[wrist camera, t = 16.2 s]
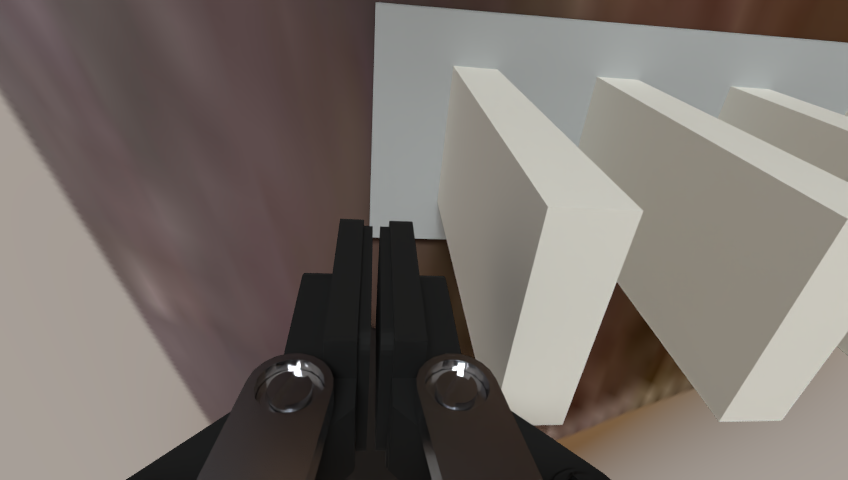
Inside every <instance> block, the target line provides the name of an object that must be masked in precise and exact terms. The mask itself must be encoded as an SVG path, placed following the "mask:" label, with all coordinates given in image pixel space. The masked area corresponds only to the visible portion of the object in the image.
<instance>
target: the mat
mask: <svg viewBox="0 0 848 480" xmlns="http://www.w3.org/2000/svg"><path fill="white" fill-rule="evenodd" d="M453 66H461V67H474V68H486V69H498V70H499V71H500V72H501V73H502V74H503V75H504V76H505V77H506V78H507V79H508V80H509V81H510V82H511V83H512V84H513V85H514V86H515V87H516V88H517V89H518V90H519V91H520V92H521V93H523V94H524V95H525V96H526V97H527V98H528V99H529V100H530V101H531V102H532V103H533V104H534V105H535V106H536V107H537V108H538V109H539V110H540V111H541V112H542V113H543V114H544V115H545V116H546V117H547V118H548V119H549V120H550V121H551V122H552V123H553V124H554V125H555V126H556V127H558V128H559V129H560V130H561V131H562V132H563V133H564V134H565V135H566V136H567V137H568V138H569V139H570V140H571V141H572V142H573V143H574V144H575V145H576V146H577V147H578V146H579V142H580V139H581V135H582V131H583V127H584V124H585V120H586V116H587V112H588V109H589V105H590V101H591V98H592V94H593V90H594V86H595V83H596V79H597V77H606V78H620V79H634V80H640V81H642V82H644V83H646V84H648V85H650V86H652V87H654V88H656V89H658V90H660V91H662V92H664V93H666V94H668V95H670V96H672V97H675V98H677V99H679V100H681V101H683V102H685V103H687V104H689V105H691V106H693V107H695V108H697V109H699V110H701V111H703V112H705V113H707V114H709V115H711V116H713V117H715V118H717V119H718V116H719V114H720V111H721V109H722V107H723V104H724V102H725V99H726V97H727V95H728V92H729V90H730V87H731V86H732V87H746V88H760V89H770V90H773V91H776V92H779V93H782V94H785V95H787V96H790V97H793V98H796V99H799V100H802V101H805V102H808V103H810V104H813V105H816V106H819V107H822V108H825V109H828V110H830V111H833V112H836V113H839V114H842V115H845V113H846V112H847V110H848V43H844V42H833V41H821V40H809V39H798V38H786V37H775V36H763V35H751V34H740V33H728V32H717V31H705V30H693V29H682V28H670V27H659V26H647V25H635V24H624V23H612V22H601V21H589V20H577V19H566V18H554V17H543V16H531V15H519V14H508V13H496V12H485V11H473V10H461V9H450V8H438V7H427V6H415V5H403V4H392V3H380V2H376V9H375V46H374V83H373V120H372V156H371V193H370V226H373V237H377V238H380V226H382V227H389V221H411V222H413V228H414V236H415V239H446V235H445V231H444V227H443V223H442V219H441V215H440V211H439V207H438V202H437V200H438V192H439V183H440V175H441V166H442V158H443V149H444V141H445V132H446V124H447V115H448V107H449V98H450V90H451V81H452V73H453Z"/></svg>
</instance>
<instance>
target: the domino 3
mask: <svg viewBox="0 0 848 480" xmlns="http://www.w3.org/2000/svg"><path fill="white" fill-rule="evenodd" d="M718 119H720V120H722V121H724V122H726V123H728V124H730V125H732V126H734V127H736V128H738V129H740V130H742V131H744V132H746V133H748V134H750V135H752V136H754V137H756V138H758V139H760V140H763V141H765V142H767V143H769V144H771V145H773V146H775V147H777V148H779V149H781V150H783V151H785V152H787V153H789V154H791V155H793V156H795V157H797V158H799V159H801V160H803V161H805V162H808V163H810V164H812V165H814V166H816V167H818V168H820V169H822V170H824V171H826V172H828V173H830V174H832V175H834V176H836V177H838V178H840V179H842V180H844V181H846V182H848V116H845V115H842V114H839V113H836V112H833V111H830V110H828V109H825V108H822V107H819V106H816V105H813V104H810V103H808V102H805V101H802V100H799V99H796V98H793V97H790V96H787V95H785V94H782V93H779V92H776V91H773V90H770V89H760V88H746V87H732V86H731V87H730V90H729V92H728V95H727V97H726V99H725V102H724V104H723V107H722V109H721V111H720V114H719V116H718ZM837 347H838V348H840V349H841V350H842V351H843V352H844V353H845V354H847V355H848V332H847V333H846V335H845V336H844V337H843V339H842V340H841V341H840V343H839V344H838V345H837Z"/></svg>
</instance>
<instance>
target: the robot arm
mask: <svg viewBox="0 0 848 480" xmlns="http://www.w3.org/2000/svg"><path fill="white" fill-rule="evenodd" d="M372 240H373V226H364V220H355V219H340V224H339V231H338V239H337V246H336V253H335V260H334V267H333V274H322V273H304V274H303V276H302V280H301V284H300V288H299V292H298V297H297V301H296V305H295V309H294V314H293V318H292V322H291V327H290V331H289V335H288V339H287V344H286V348H285V352H284V355H280V356H276V357H274V358H272V359H269V360H267V361H265V362H263V363H262V364H261V365H260V366H258V367H257V368H256V369H255V370H254V371H253V372H252V373H251V375H250V376H249V378H248V379H247V381H246V383H245V385H244V387H243V389H242V391H241V392H240V394H239V396H238V398H237V400H236V402H235V404H234V406H233V408H232V410H231V412H230V413H228V414H226V415H225V416H223V417H222V418H220V419H219V420H217V421H216V422H214V423H213V424H211V425H210V426H208V427H206V428H205V429H203V430H202V431H200V432H199V433H197V434H196V435H194V436H193V437H191V438H189V439H188V440H186V441H185V442H183V443H182V444H180V445H179V446H177V447H176V448H174V449H173V450H171V451H169V452H168V453H166V454H165V455H163V456H162V457H160V458H159V459H157V460H156V461H154V462H153V463H151V464H150V465H148V466H146V467H145V468H143V469H142V470H140V471H139V472H137V473H136V474H134V475H133V476H131V477H129V478H128V479H126V480H345V479H346V478H347V477H348V476H349V475H350V474H351V473H352V472H354V469H355V455H356V451H366V447H367V421H368V395H369V368H370V339H371V291H372ZM375 451H385V468H388V471H390V472H391V473H392V474H393V475H394V476H395V477H396V478H397V479H398V480H610V479H609V478H608V477H607V476H606V475H605V474H603V473H602V472H601V471H599V470H598V469H596V468H595V467H593V466H592V465H590V464H589V463H587V462H586V461H585V460H583V459H581V458H580V457H578V456H577V455H576V454H574V453H573V452H571V451H570V450H568V449H567V448H565V447H564V446H562V445H561V444H560V443H558V442H557V441H555V440H554V439H552V438H551V437H549V436H548V435H546V434H545V433H543V432H542V431H540V430H539V429H537V428H536V427H534V426H533V425H532V424H530V423H529V422H527V421H526V420H524V419H523V418H521V417H520V416H518V415H517V414H515V413H514V412H512V411H511V410H510V408H509V405H508V403H507V401H506V399H505V397H504V395H503V392H502V390H501V388H500V386H499V384H498V382H497V380H496V378H495V376H494V375H493V373H492V372H491V370H490V369H489V368H488V367H486V366H485V365H484V364H483V363H482V362H480V361H478V360H476V359H474V358H472V357H470V356H466V355H461V351H460V346H459V341H458V336H457V331H456V327H455V322H454V317H453V312H452V307H451V302H450V297H449V293H448V288H447V283H446V279H445V277H444V276H419V268H418V260H417V252H416V244H415V236H414V228H413V222H411V221H389V227H382V226H380V240H379V262H378V284H377V307H376V371H375Z"/></svg>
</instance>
